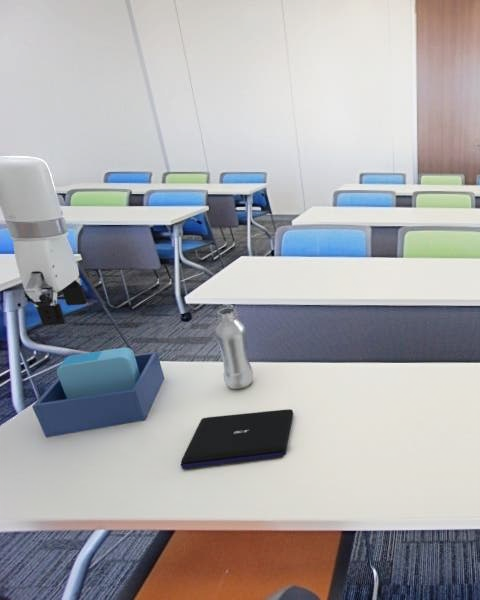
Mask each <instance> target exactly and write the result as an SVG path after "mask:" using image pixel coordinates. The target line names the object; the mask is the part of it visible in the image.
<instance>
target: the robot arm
mask: <svg viewBox="0 0 480 600" xmlns="http://www.w3.org/2000/svg"><path fill="white" fill-rule="evenodd" d="M0 209H1V212H2V215H3V218H4V221H5V225H6V227H7V230H8V232H9V236H10V239H11V240H13V241H12V243H13V244H12V245H13V251H14V257H15V262H16V267H17V271H18V274H19V277H20V280H21V284H22V288H23V290H24V292H25V294H26V296H28V298H29V301H30V302H31V303H33V307H35V308H36V311H37V313H38V316H39V319H40V321H41V324H42V325H43V326H57V325H65V323H66V318H65V315H64V312H63V308H62V305H61V303H58V292H61V291H62V295H63V297H64V300H65V304H66V306H80V305H86V304H88V301H87V297H86V294H85V290H84V286H83V281H82V279H81V278H80V277H81V276H80V275H81V272H80V270H79V262H78V260H76V257H75V254H74V252H73V251H74V250H73V248H72V246H71V244H70V241H69V239H68V236H69V234H70V233H69V230H68V227H67V223H66V220H65V217H64V214H63V210H62V207H61V204H60V200H59V196H58V194H57V189H56V187H55V183H54V180H53V176H52V173H51V170H50V167H49V165H48V164H47V162H46V161H45V160H44V159H41V158H39V157H36V156H35V157H34V156H23V155H0ZM47 294H48V295H49V297H48V296H47Z"/></svg>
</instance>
